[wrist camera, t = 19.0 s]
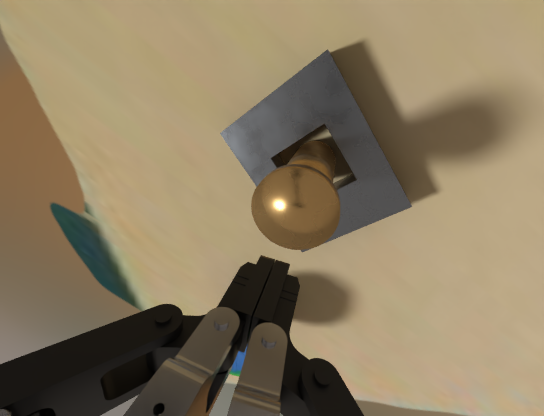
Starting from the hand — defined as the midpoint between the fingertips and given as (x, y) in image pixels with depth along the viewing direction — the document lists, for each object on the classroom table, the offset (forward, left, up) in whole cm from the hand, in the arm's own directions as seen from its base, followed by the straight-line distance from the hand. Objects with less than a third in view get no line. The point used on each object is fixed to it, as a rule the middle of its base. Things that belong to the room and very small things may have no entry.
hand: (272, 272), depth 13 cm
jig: (0, 0, -21) cm, 21 cm away
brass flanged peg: (0, 0, -21) cm, 21 cm away
